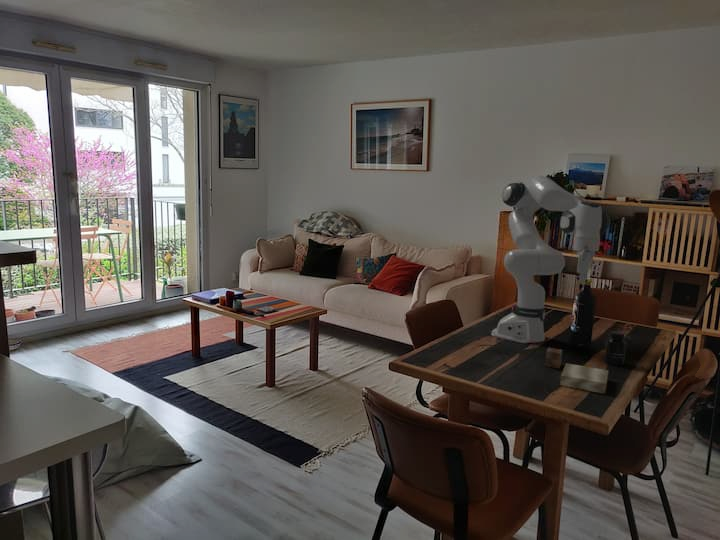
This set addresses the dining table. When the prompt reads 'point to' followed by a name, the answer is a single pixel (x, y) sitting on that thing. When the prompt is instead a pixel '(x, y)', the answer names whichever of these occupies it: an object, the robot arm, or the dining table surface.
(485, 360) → the dining table surface
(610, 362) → the supplement bottle
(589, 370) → the ash platform
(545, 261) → the robot arm
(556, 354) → the walnut block
